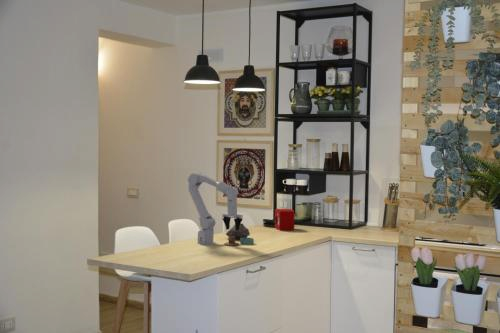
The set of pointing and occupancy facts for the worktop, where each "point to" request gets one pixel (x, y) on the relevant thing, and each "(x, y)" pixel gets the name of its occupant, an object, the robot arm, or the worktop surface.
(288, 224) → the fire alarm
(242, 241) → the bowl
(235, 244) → the lid
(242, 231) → the stone
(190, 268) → the worktop surface
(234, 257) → the worktop surface
